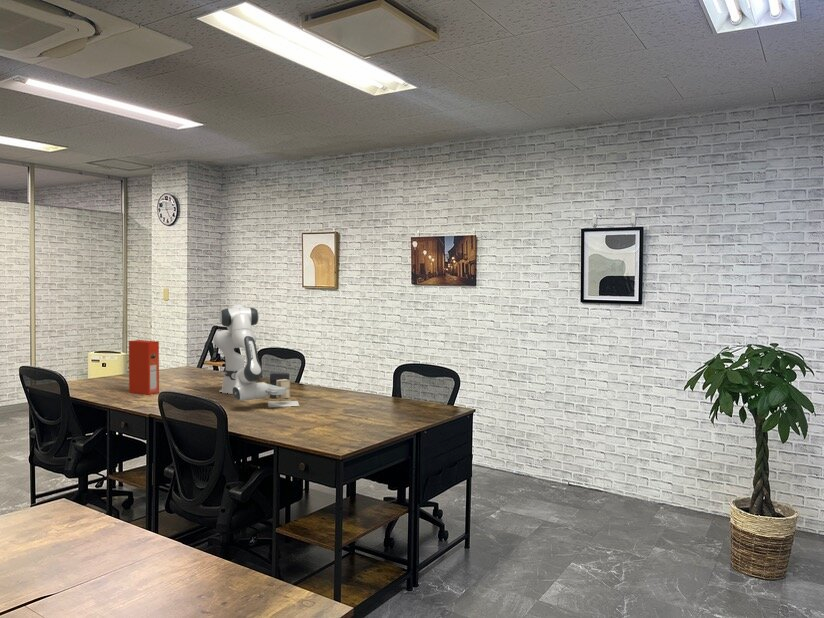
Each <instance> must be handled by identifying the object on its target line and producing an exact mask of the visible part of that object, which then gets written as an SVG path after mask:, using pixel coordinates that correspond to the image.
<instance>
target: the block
mask: <svg viewBox="0 0 824 618" xmlns="http://www.w3.org/2000/svg"><path fill="white" fill-rule="evenodd" d="M276 386H279V387H287V390H286V391H285V394H283V395H276V398H280V399H279V400H284V399H283V398H288V399H290V398H291V379H289V380H287V379H282V380H277V384H276Z"/></svg>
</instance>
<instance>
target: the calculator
mask: <svg viewBox="0 0 824 618" xmlns="http://www.w3.org/2000/svg"><path fill="white" fill-rule="evenodd" d="M282 379H287V380H290V372H289V373H288V372H287V373H286V372H281V373H280V372H271V373H270V374H269V384H271V385H275V386H276V384H277V380H282ZM275 398H276V395H270V394H269V399H275ZM288 399H289V398H283V399H282V400H288Z"/></svg>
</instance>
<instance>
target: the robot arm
mask: <svg viewBox="0 0 824 618" xmlns="http://www.w3.org/2000/svg"><path fill="white" fill-rule="evenodd" d="M259 319H260V314H259V312H258V309H256V308H255V307H245V306H244V305H242V304H239V303H238V304H233V305H231V306H230V308H224V309H222V310H220V313H219V322H220V324H221V325H222V326H223V327H226V328H227V329H226V330H220V331H217V332H215V334H214V336H213V343H214V346H216V347H217V348H218V349H219V350H220V351H221V352H222V353H223V355H224V359H225V370H224V377H223V378H222V384H221V385H222V386H221V389H220V390H218V391H219V393H220V392H222V393H221V394H227V393H228V394H229V395H230V394H231V395H233V397H234V398H235V399H236V400H238V401H250V400H255V399H256V400H260V399H266V398H267V397H268V396H270V395H283V394H285V391H286V390H287V387H279V386H275V385H271V384H270V383H267V382H264V381H263V382H256V381H259V380H260V379H261V378H262V377H263V373H264V372H263V367H262V364H261V363H260V360H259V355H258V348H257V344H256V341H257V334H256V333H255V332H254V331H253V326H256V325H257V324H259V323H258V322H259ZM237 348H238V349H239V348H240V349H242V348H243V349H244V353H245V358H244V356H243V355H242V354H240V353H238V352H236V351H235V349H237ZM245 359H246V364H245Z"/></svg>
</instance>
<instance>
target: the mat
mask: <svg viewBox="0 0 824 618" xmlns="http://www.w3.org/2000/svg"><path fill="white" fill-rule="evenodd" d="M291 406H299V407H300V403H299V401H298V400H285V401H283V400H281V401H280V400H279V401H267V407H268V408H291Z"/></svg>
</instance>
